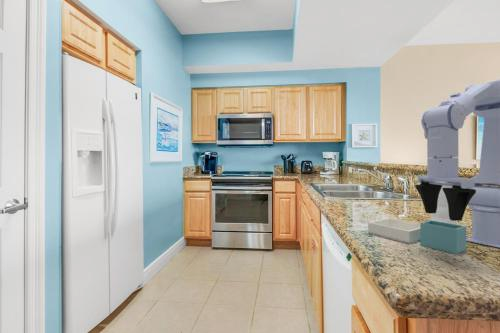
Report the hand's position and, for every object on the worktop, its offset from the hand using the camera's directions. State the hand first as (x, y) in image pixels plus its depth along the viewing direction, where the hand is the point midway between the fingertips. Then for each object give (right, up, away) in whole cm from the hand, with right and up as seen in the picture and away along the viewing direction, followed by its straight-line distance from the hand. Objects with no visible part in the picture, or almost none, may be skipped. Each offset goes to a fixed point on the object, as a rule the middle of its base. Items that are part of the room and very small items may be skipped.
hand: (442, 216), depth 58 cm
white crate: (0, -9, +18) cm, 20 cm away
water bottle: (+21, -9, +27) cm, 35 cm away
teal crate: (+5, -10, +7) cm, 13 cm away
